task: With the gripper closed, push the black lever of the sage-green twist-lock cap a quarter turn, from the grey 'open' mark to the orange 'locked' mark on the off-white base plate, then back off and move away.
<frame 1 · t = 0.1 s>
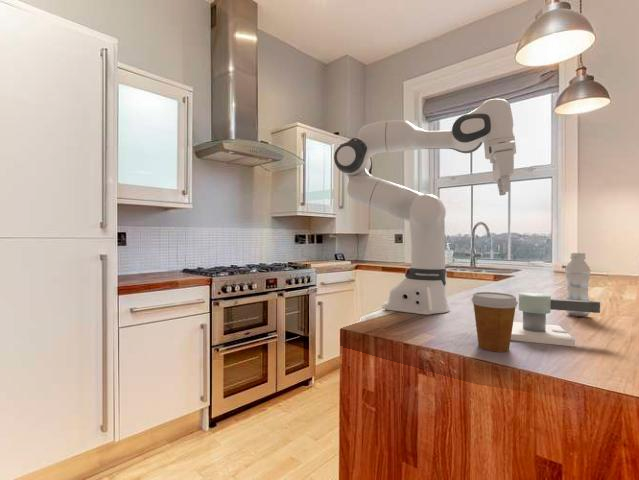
hand: (504, 193, 111), 39 cm above the table, tool pointing down, fingers open, 8 cm apart
plastic bottle: (577, 316, 111), on the table
lock base: (533, 335, 90), on the table
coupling: (557, 304, 88), point 8 cm above the table, hinge at 0.0°
disposable coffee cup: (493, 348, 80), on the table
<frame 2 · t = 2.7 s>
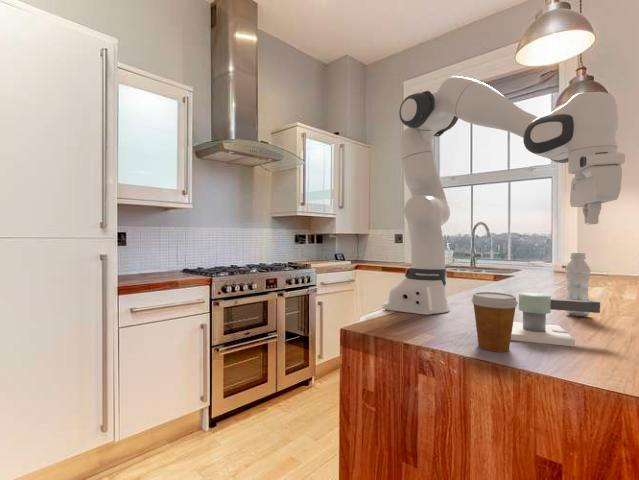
hand: (591, 224, 80), 28 cm above the table, tool pointing down, fingers closed
nothing on the table moved.
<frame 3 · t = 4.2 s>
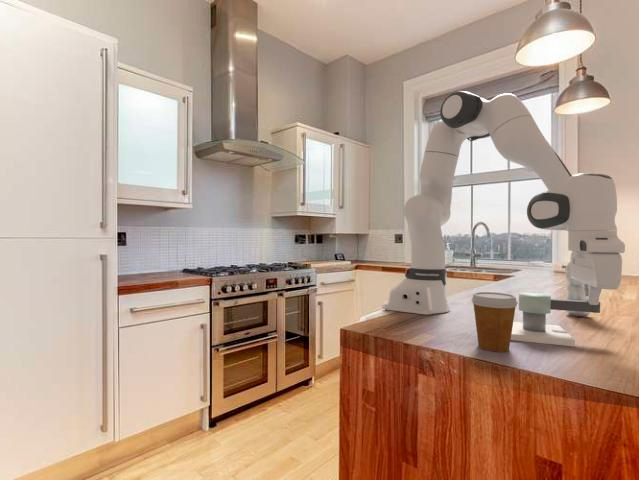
hand: (591, 303, 80), 10 cm above the table, tool pointing down, fingers closed
nothing on the table moved.
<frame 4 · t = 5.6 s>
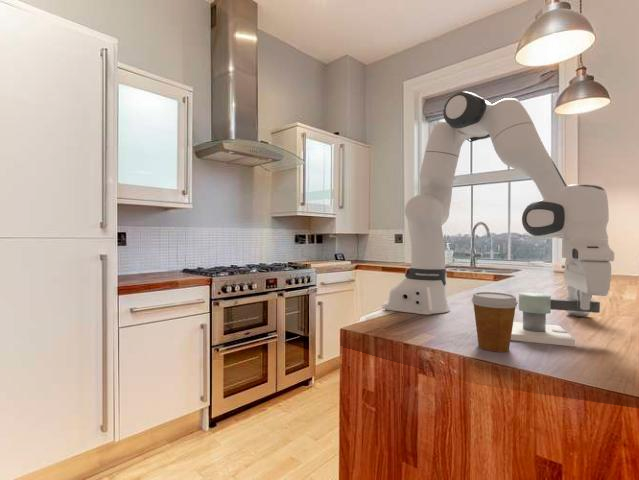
hand: (583, 308, 84), 8 cm above the table, tool pointing down, fingers closed
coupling: (557, 304, 88), point 8 cm above the table, hinge at 1.2°, touching gripper
everything else where it was.
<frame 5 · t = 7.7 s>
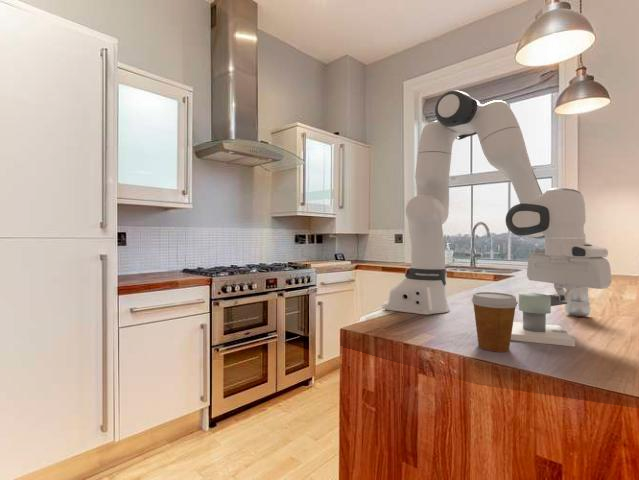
hand: (564, 301, 92), 8 cm above the table, tool pointing down, fingers closed
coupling: (546, 301, 92), point 8 cm above the table, hinge at 49.6°, touching gripper
everything else where it was.
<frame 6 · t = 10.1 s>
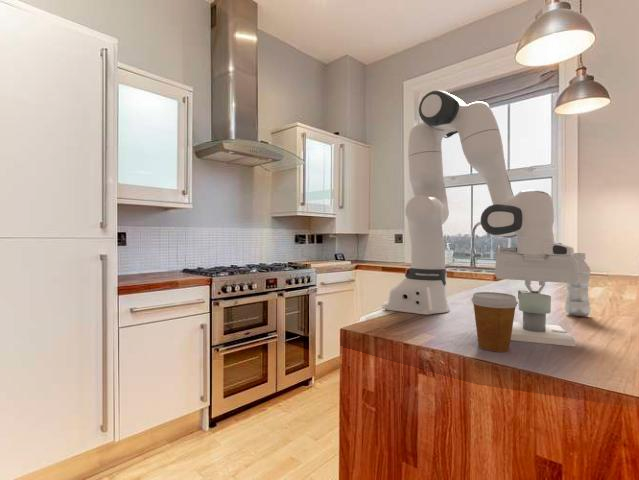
hand: (535, 297, 98), 8 cm above the table, tool pointing down, fingers closed
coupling: (529, 299, 94), point 8 cm above the table, hinge at 93.4°, touching gripper
everything else where it was.
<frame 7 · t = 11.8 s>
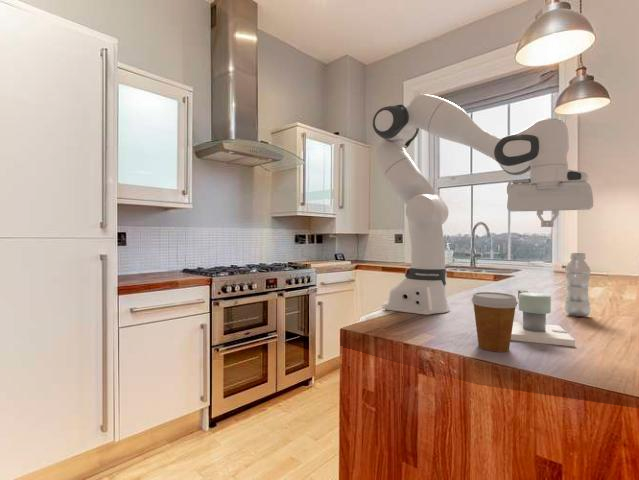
hand: (547, 227, 98), 28 cm above the table, tool pointing down, fingers closed
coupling: (529, 299, 94), point 8 cm above the table, hinge at 93.5°
everything else where it was.
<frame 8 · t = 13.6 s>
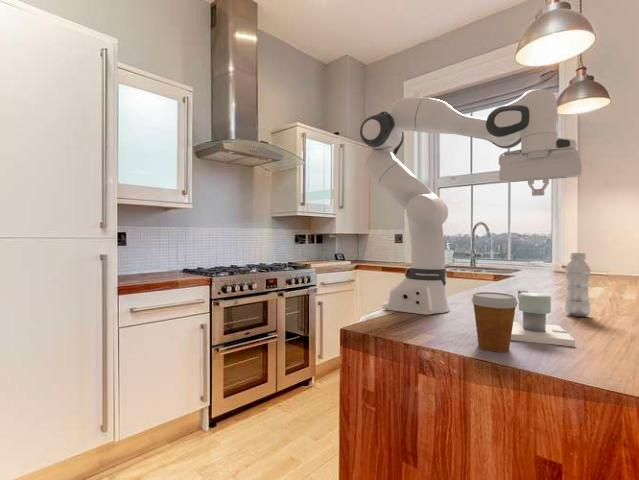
hand: (538, 195, 101), 37 cm above the table, tool pointing down, fingers closed
nothing on the table moved.
at the end: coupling at +94° (first picture: +0°) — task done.
